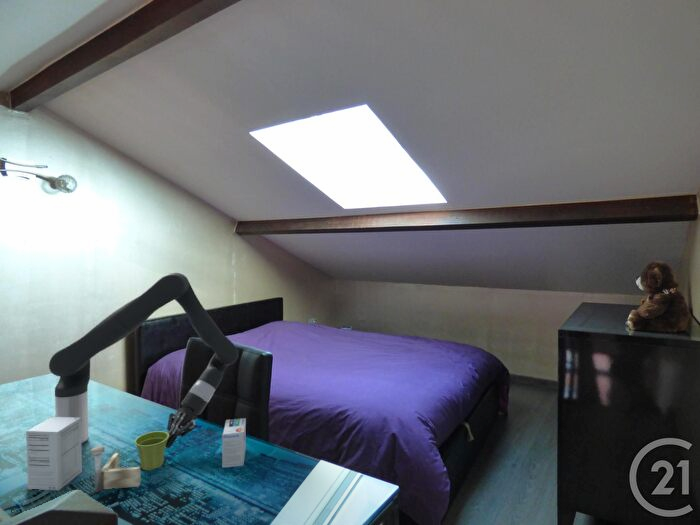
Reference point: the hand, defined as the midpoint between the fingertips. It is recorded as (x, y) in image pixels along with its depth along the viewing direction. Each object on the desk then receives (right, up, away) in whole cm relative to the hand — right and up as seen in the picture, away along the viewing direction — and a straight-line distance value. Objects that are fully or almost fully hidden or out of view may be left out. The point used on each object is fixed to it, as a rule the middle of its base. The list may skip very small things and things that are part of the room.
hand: (165, 446), depth 124 cm
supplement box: (-26, -5, -11) cm, 29 cm away
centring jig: (-9, -5, -13) cm, 17 cm away
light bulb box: (+22, -5, +2) cm, 22 cm away
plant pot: (-2, -5, -3) cm, 6 cm away
